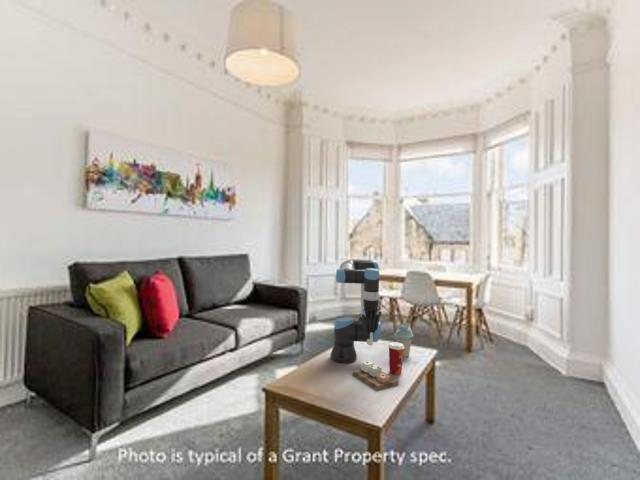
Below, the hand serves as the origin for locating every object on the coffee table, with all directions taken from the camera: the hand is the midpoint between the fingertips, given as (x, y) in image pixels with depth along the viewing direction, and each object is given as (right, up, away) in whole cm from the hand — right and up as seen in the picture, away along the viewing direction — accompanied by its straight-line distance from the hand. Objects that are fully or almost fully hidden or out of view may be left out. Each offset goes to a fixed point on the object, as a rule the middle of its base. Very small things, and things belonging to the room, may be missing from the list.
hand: (369, 344), depth 179 cm
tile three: (+5, -16, -10) cm, 19 cm away
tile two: (+2, -14, -5) cm, 15 cm away
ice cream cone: (+25, -16, +31) cm, 43 cm away
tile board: (+2, -16, -5) cm, 17 cm away
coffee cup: (+14, -16, +4) cm, 22 cm away
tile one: (-1, -13, +1) cm, 13 cm away
